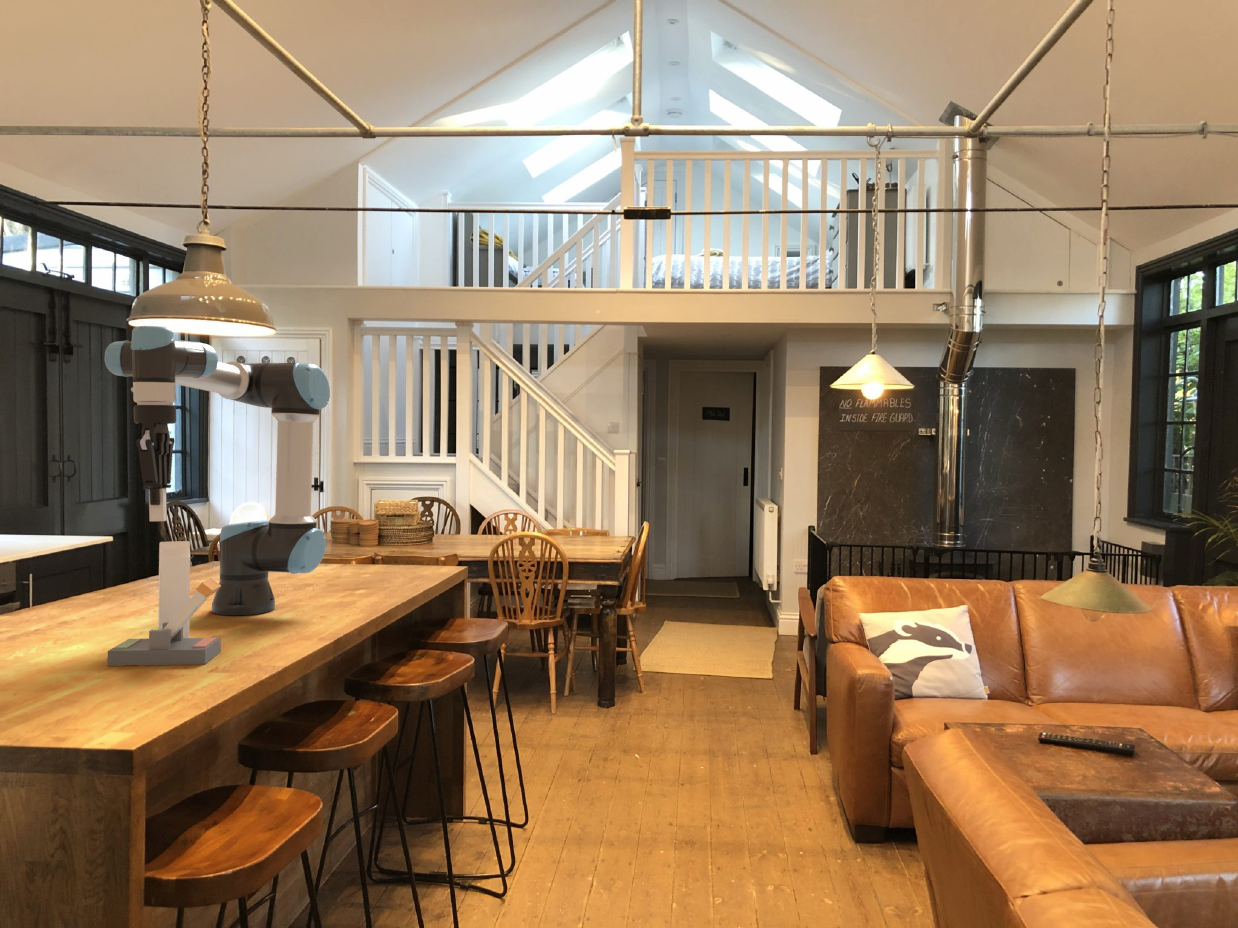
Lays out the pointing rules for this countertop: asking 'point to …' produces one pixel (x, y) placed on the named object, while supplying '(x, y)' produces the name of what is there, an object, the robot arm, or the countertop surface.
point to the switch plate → (164, 650)
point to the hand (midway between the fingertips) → (158, 520)
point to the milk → (173, 581)
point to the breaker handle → (192, 606)
